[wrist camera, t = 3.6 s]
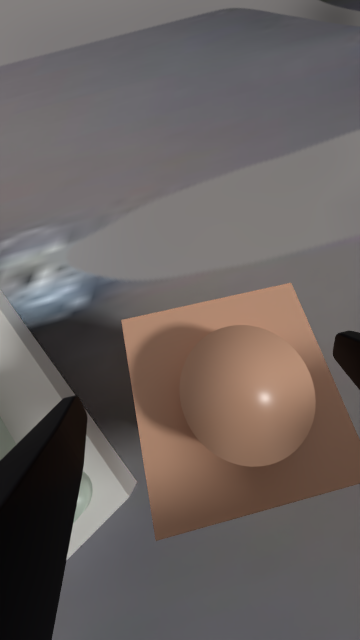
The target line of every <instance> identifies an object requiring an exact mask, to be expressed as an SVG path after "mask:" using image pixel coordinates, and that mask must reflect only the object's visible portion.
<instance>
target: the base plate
mask: <svg viewBox="0 0 360 640" xmlns="http://www.w3.org/2000/svg"><path fill="white" fill-rule="evenodd" d="M74 395H75V394H74V393H73V391H72V390H71V388H70V387H69V386H68V384H67V383H66V381H65V380H64V378H63V377H62V376H61V374H60V373H59V371H58V370H57V369H56V367H55V366H54V364H53V363H52V362H51V360H50V359H49V357H48V356H47V355H46V353H45V352H44V350H43V349H42V348H41V346H40V345H39V343H38V342H37V340H36V339H35V338H34V336H33V335H32V333H31V332H30V331H29V329H28V328H27V326H26V325H25V324H24V322H23V321H22V319H21V318H20V317H19V315H18V314H17V312H16V311H15V310H14V308H13V307H12V305H11V304H10V302H9V301H8V300H7V298H6V297H5V295H4V294H3V293H2V291H1V290H0V460H1V459H2V458H3V457H4V456H5V455H6V454H7V453H8V452H9V451H10V450H11V449H12V448H13V447H14V446H15V445H16V444H17V443H18V442H20V441H21V440H22V439H23V438H24V437H25V436H26V435H27V434H28V433H29V432H30V431H31V430H32V429H33V428H34V427H35V426H36V425H37V424H38V423H39V422H40V421H41V420H42V419H43V418H44V417H45V416H46V415H47V414H48V413H49V412H50V411H51V410H52V409H53V408H54V407H55V406H56V405H57V404H58V403H59V402H60V401H61V400H62V399H63V398H66V397H70V396H74ZM75 396H76V395H75ZM84 409H85V408H84ZM85 411H86V409H85ZM86 413H87V432H86V444H85V457H84V467H83V473H82V479H81V484H80V490H79V495H78V500H77V506H76V511H75V517H74V522H73V527H72V533H71V538H70V543H69V549H68V554H67V559H68V558H69V557H70V556H71V555H72V554H73V553H74V552H75V551H76V550H77V549H78V548H79V547H80V546H81V545H82V544H83V543H84V542H85V541H86V540H87V539H88V538H89V537H90V536H91V535H92V534H93V533H94V532H95V531H96V530H97V529H98V528H99V527H100V526H101V525H102V524H103V523H104V522H105V521H106V520H107V519H108V518H109V517H110V516H111V515H112V514H113V513H114V512H115V511H116V510H117V509H118V508H119V507H120V506H121V505H122V504H123V503H124V502H125V501H126V500H127V499H128V498H129V496H130V495H131V493H132V491H133V489H134V487H135V485H136V483H137V481H136V480H135V478H134V477H133V476H132V474H131V473H130V471H129V470H128V469H127V467H126V466H125V464H124V463H123V462H122V460H121V459H120V457H119V456H118V454H117V453H116V452H115V450H114V449H113V447H112V446H111V445H110V443H109V442H108V440H107V439H106V438H105V436H104V435H103V433H102V432H101V431H100V429H99V428H98V426H97V425H96V424H95V422H94V421H93V419H92V418H91V416H90V415H89V414H88V412H87V411H86ZM67 559H66V560H67Z"/></svg>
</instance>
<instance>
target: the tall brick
mask: <svg viewBox="0 0 360 640" xmlns="http://www.w3.org/2000/svg"><path fill="white" fill-rule="evenodd" d="M121 321H122V328H123V334H124V340H125V347H126V353H127V360H128V366H129V372H130V379H131V385H132V392H133V398H134V404H135V411H136V417H137V424H138V430H139V436H140V443H141V449H142V456H143V462H144V468H145V475H146V481H147V488H148V494H149V500H150V507H151V513H152V520H153V526H154V532H155V539H156V541H157V540H161V539H164V538H168V537H171V536H175V535H179V534H182V533H186V532H189V531H193V530H196V529H200V528H203V527H207V526H210V525H214V524H218V523H221V522H225V521H228V520H232V519H235V518H239V517H242V516H246V515H250V514H253V513H257V512H260V511H264V510H267V509H271V508H274V507H278V506H282V505H285V504H289V503H292V502H296V501H299V500H303V499H306V498H310V497H314V496H317V495H321V494H324V493H328V492H331V491H335V490H338V489H342V488H346V487H349V486H353V485H356V484H360V439H359V437H358V435H357V433H356V430H355V428H354V426H353V423H352V421H351V419H350V417H349V414H348V412H347V410H346V407H345V405H344V403H343V401H342V398H341V396H340V394H339V391H338V389H337V387H336V384H335V382H334V380H333V378H332V375H331V373H330V371H329V368H328V366H327V364H326V362H325V359H324V357H323V355H322V352H321V350H320V348H319V346H318V343H317V341H316V339H315V336H314V334H313V332H312V329H311V327H310V325H309V323H308V320H307V318H306V316H305V313H304V311H303V309H302V307H301V304H300V302H299V300H298V297H297V295H296V293H295V291H294V288H293V286H292V284H291V283H288V284H283V285H279V286H274V287H270V288H265V289H260V290H256V291H251V292H247V293H242V294H238V295H233V296H229V297H224V298H220V299H215V300H211V301H206V302H201V303H197V304H192V305H188V306H183V307H179V308H174V309H170V310H165V311H161V312H156V313H151V314H147V315H142V316H138V317H133V318H129V319H124V320H121Z"/></svg>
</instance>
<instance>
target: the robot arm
mask: <svg viewBox="0 0 360 640" xmlns="http://www.w3.org/2000/svg"><path fill="white" fill-rule="evenodd" d="M333 356H334V358H335V360H336V361H337V362H338V364H339V365H340V366H341V367H342V369H343V370H344V371H345V372H346V374H347V375H348V376H349V377H350V379H351V380H352V381H353V382H354V384H355V385H356V386H357V387H358V388H359V390H360V333H359V332H354V331H345V332H341V333H338V334H337V335H336V337H335V342H334V348H333ZM86 432H87V413H86V411H85V409H84V407H83V405H82V403H81V401H80V399H79V397H78V396H75V395H74V396H70V397H66V398H63V399H62V400H61V401H60V402H59V403H58V404H57V405H56V406H55V407H54V408H53V409H52V410H51V411H50V412H49V413H48V414H47V415H46V416H45V417H44V418H43V419H42V420H41V421H40V422H39V423H38V424H37V425H36V426H35V427H34V428H33V429H32V430H31V431H30V432H29V433H28V434H27V435H26V436H25V437H24V438H23V439H22V440H21V441H20V442H18V443H17V444H16V445H15V446H14V447H13V448H12V449H11V450H10V451H9V452H8V453H7V454H6V455H5V456H4V457H3V458H2V459H1V460H0V640H52V635H53V629H54V624H55V618H56V613H57V608H58V602H59V597H60V592H61V586H62V581H63V576H64V570H65V565H66V559H67V554H68V549H69V543H70V538H71V533H72V527H73V522H74V517H75V511H76V506H77V500H78V495H79V490H80V484H81V479H82V473H83V467H84V457H85V444H86Z"/></svg>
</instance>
